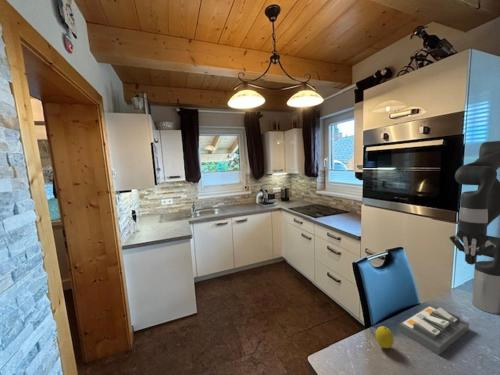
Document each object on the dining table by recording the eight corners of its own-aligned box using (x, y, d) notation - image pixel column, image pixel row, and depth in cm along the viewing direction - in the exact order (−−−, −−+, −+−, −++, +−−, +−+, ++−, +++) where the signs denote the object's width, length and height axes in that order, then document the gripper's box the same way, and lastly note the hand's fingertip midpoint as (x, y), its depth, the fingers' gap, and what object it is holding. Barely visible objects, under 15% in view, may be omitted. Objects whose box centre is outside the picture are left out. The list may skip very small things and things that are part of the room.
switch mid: (430, 318, 89) (430, 315, 89) (449, 324, 83) (448, 321, 84) (426, 321, 87) (425, 318, 87) (444, 327, 82) (444, 324, 82)
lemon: (395, 355, 76) (396, 333, 75) (378, 352, 77) (379, 331, 76) (389, 342, 81) (389, 322, 81) (373, 340, 83) (373, 320, 82)
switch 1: (421, 321, 86) (421, 319, 85) (439, 333, 81) (440, 331, 80) (416, 324, 84) (416, 322, 84) (434, 337, 79) (435, 334, 79)
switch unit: (429, 311, 98) (430, 300, 97) (468, 330, 86) (469, 318, 86) (398, 330, 87) (399, 319, 87) (438, 355, 75) (439, 341, 75)
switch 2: (438, 308, 92) (440, 307, 92) (456, 321, 87) (457, 319, 87) (434, 311, 90) (435, 309, 90) (452, 324, 85) (453, 322, 85)
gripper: (502, 221, 77) (499, 268, 79) (454, 214, 89) (452, 255, 91) (494, 225, 74) (491, 273, 76) (445, 217, 86) (444, 259, 87)
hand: (470, 263), depth 83 cm, fingers closed
